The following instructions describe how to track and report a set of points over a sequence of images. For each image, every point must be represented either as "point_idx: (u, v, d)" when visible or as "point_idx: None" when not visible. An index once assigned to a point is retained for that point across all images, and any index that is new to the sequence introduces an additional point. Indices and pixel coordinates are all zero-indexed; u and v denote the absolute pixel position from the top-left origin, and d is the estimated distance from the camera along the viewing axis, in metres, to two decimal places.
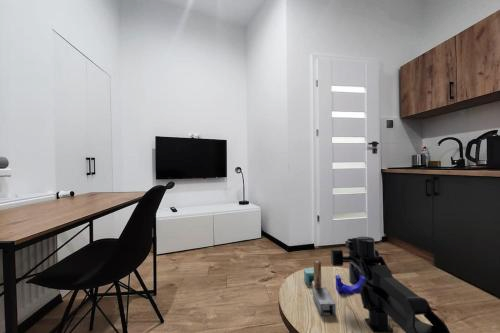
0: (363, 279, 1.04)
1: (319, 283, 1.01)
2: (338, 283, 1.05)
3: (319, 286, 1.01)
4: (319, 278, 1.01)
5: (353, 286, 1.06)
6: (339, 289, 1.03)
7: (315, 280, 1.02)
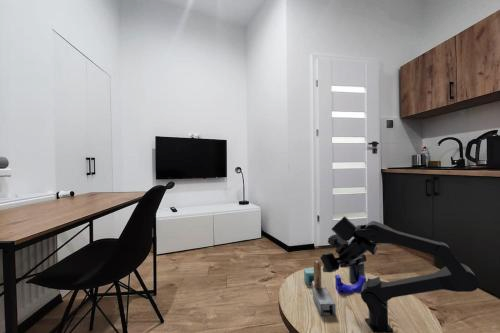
0: (363, 278, 1.04)
1: (319, 283, 1.01)
2: (338, 283, 1.05)
3: (319, 286, 1.01)
4: (319, 278, 1.01)
5: (353, 286, 1.06)
6: (339, 289, 1.04)
7: (315, 280, 1.02)
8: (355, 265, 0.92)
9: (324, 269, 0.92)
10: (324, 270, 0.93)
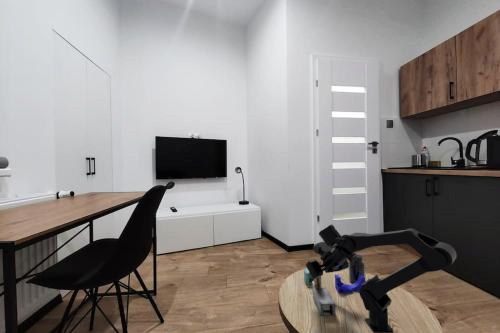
0: (362, 278, 1.05)
1: (319, 283, 1.01)
2: (338, 282, 1.05)
3: (319, 286, 1.01)
4: (319, 278, 1.01)
5: (352, 285, 1.07)
6: (339, 288, 1.04)
7: (315, 280, 1.02)
8: None
9: (310, 275, 0.99)
10: (310, 276, 0.99)
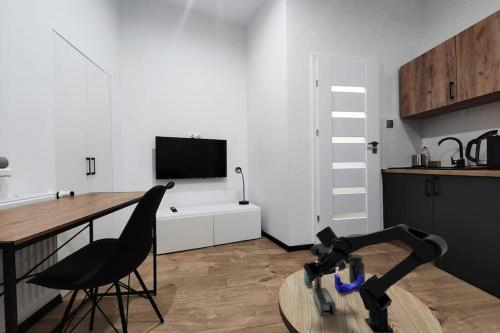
0: (361, 277, 1.06)
1: (319, 283, 1.01)
2: (337, 282, 1.06)
3: (319, 286, 1.01)
4: (319, 278, 1.01)
5: (351, 284, 1.08)
6: (339, 288, 1.04)
7: (315, 280, 1.02)
8: None
9: None
10: None
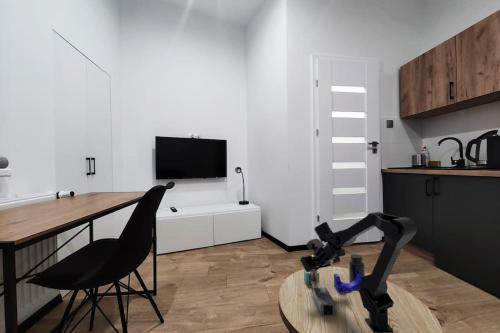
0: (360, 276, 1.07)
1: (315, 276, 1.08)
2: (337, 281, 1.06)
3: (315, 278, 1.08)
4: (315, 271, 1.08)
5: (350, 283, 1.08)
6: (338, 287, 1.05)
7: (311, 273, 1.09)
8: None
9: None
10: None
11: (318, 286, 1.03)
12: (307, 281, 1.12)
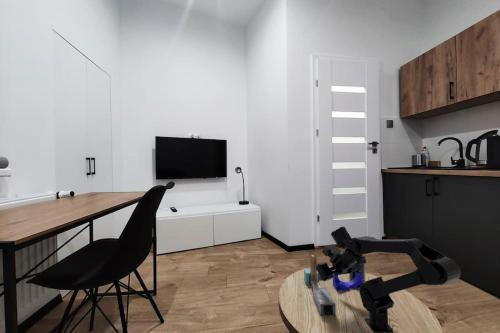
0: (359, 275, 1.07)
1: (315, 276, 1.08)
2: (335, 280, 1.08)
3: (315, 278, 1.08)
4: (315, 271, 1.08)
5: (349, 282, 1.09)
6: (336, 286, 1.06)
7: (311, 273, 1.09)
8: (348, 273, 0.99)
9: (319, 278, 0.99)
10: (319, 279, 0.99)
11: (318, 286, 1.03)
12: (307, 281, 1.12)
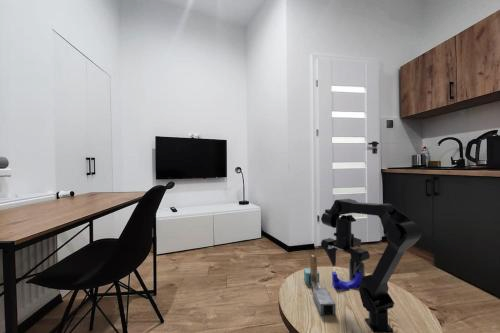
0: (358, 275, 1.08)
1: (315, 276, 1.08)
2: (334, 279, 1.09)
3: (315, 278, 1.08)
4: (315, 271, 1.08)
5: (349, 282, 1.10)
6: (335, 285, 1.07)
7: (311, 273, 1.09)
8: (350, 259, 0.90)
9: None
10: None
11: (318, 286, 1.03)
12: (307, 281, 1.12)
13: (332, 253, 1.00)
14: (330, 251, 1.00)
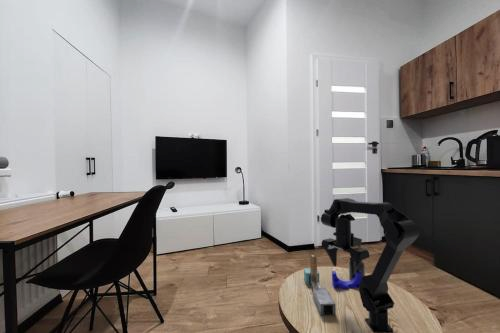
0: (358, 275, 1.08)
1: (315, 276, 1.08)
2: (334, 278, 1.09)
3: (315, 278, 1.08)
4: (315, 271, 1.08)
5: (349, 282, 1.10)
6: (334, 284, 1.08)
7: (311, 273, 1.09)
8: None
9: None
10: None
11: (318, 286, 1.03)
12: (307, 281, 1.12)
13: (333, 253, 1.00)
14: (330, 251, 1.00)
